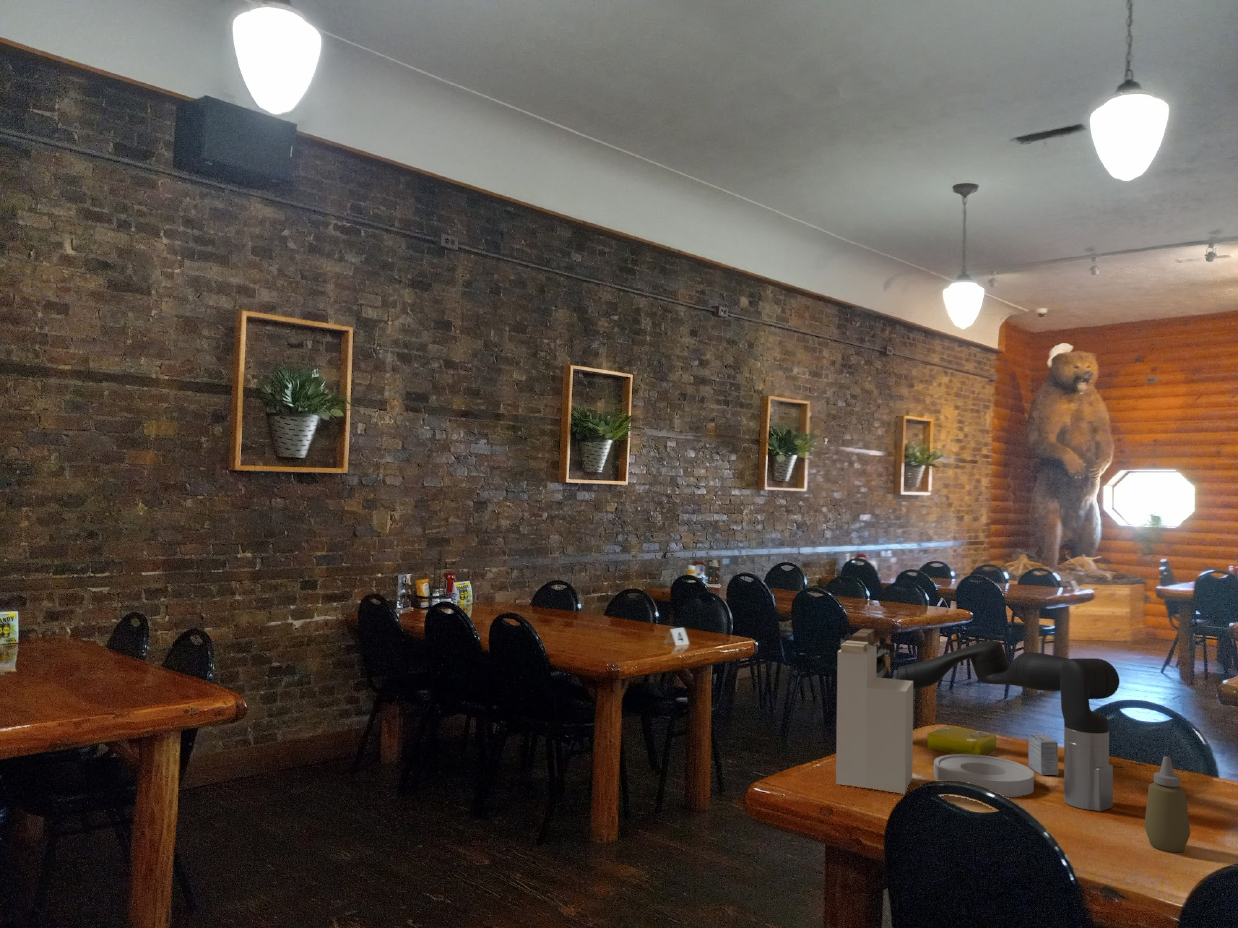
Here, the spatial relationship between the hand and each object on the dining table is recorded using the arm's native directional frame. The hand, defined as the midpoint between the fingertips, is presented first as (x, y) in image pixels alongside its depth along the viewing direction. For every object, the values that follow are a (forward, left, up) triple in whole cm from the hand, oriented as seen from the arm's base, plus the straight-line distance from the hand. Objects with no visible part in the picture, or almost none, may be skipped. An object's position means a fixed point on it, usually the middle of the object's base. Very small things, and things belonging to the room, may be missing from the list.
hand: (864, 637), depth 243 cm
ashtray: (-27, -13, -33) cm, 45 cm away
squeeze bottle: (-73, -5, -33) cm, 80 cm away
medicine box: (-30, -35, -33) cm, 56 cm away
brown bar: (-7, +10, -1) cm, 12 cm away
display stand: (-11, +11, -33) cm, 36 cm away
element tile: (-5, -37, -33) cm, 50 cm away
